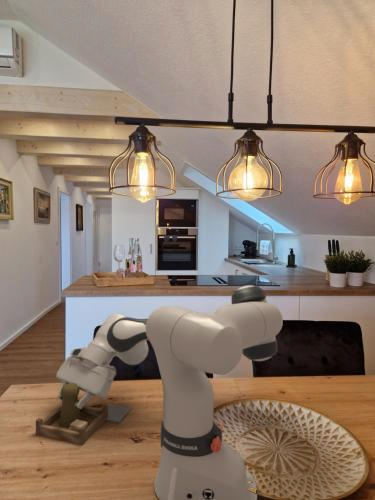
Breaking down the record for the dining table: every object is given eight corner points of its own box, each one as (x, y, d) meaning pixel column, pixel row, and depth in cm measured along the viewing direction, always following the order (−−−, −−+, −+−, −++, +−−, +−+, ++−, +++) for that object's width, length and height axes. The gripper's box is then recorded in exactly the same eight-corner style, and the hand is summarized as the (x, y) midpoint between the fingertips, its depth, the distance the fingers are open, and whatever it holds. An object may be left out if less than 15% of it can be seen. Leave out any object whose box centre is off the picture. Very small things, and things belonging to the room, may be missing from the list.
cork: (66, 414, 99) (66, 379, 99) (84, 417, 98) (85, 381, 98) (54, 426, 94) (54, 388, 93) (73, 429, 92) (74, 391, 92)
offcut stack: (89, 432, 91) (89, 420, 91) (81, 440, 87) (81, 427, 87) (74, 429, 92) (74, 417, 92) (66, 437, 88) (66, 424, 88)
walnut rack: (107, 418, 98) (108, 405, 98) (83, 444, 86) (83, 430, 85) (65, 410, 102) (65, 397, 102) (35, 434, 89) (35, 420, 89)
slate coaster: (131, 409, 103) (131, 407, 103) (119, 423, 96) (119, 421, 96) (108, 405, 105) (108, 403, 105) (95, 419, 98) (95, 417, 98)
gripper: (124, 372, 99) (98, 419, 91) (80, 357, 110) (54, 397, 103) (113, 363, 95) (85, 410, 87) (69, 348, 106) (41, 388, 99)
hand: (68, 403), depth 95 cm, fingers open, 7 cm apart
